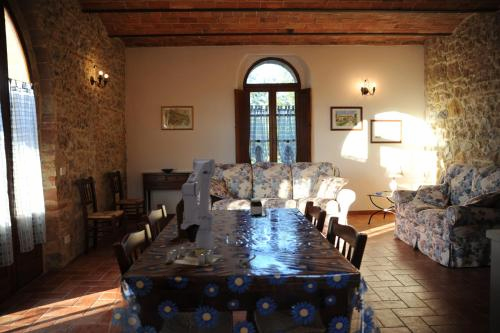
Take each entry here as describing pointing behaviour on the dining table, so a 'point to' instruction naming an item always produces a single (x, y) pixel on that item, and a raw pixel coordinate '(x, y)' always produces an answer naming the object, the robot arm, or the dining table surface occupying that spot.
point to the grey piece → (172, 256)
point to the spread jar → (257, 207)
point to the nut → (199, 251)
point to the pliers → (246, 262)
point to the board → (193, 259)
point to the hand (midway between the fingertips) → (192, 242)
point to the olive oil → (180, 218)
